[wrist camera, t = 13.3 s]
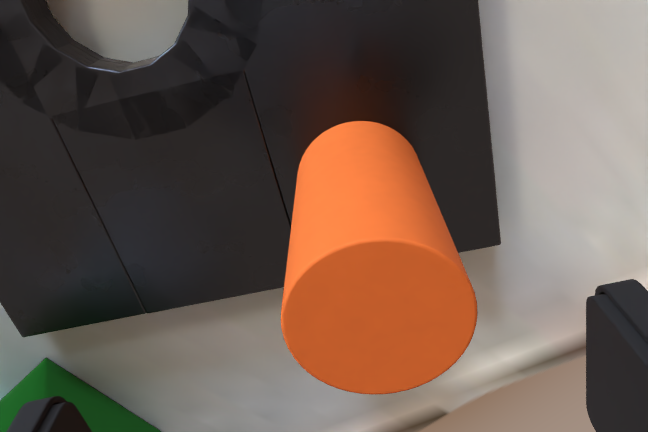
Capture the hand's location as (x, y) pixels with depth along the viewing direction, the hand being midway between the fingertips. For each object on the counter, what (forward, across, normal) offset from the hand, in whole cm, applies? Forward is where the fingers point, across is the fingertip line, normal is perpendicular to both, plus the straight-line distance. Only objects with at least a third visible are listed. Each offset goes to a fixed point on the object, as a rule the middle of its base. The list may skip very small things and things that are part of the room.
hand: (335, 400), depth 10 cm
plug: (+10, -1, +1) cm, 10 cm away
